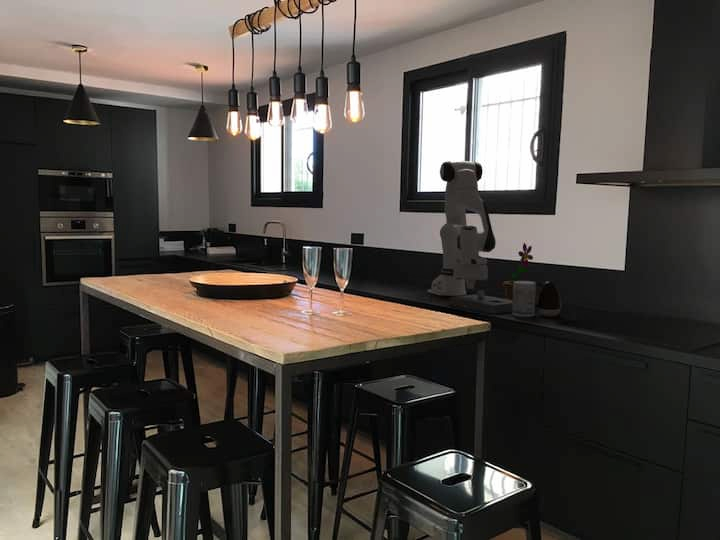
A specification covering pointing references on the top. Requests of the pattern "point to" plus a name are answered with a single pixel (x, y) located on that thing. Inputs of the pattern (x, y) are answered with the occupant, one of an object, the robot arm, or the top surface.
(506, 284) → the flowerpot
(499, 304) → the board
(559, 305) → the dark brown egg shape
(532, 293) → the supplement tub
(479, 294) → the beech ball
